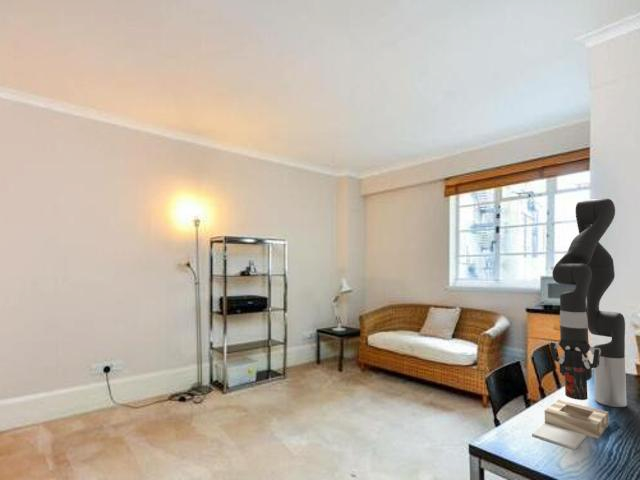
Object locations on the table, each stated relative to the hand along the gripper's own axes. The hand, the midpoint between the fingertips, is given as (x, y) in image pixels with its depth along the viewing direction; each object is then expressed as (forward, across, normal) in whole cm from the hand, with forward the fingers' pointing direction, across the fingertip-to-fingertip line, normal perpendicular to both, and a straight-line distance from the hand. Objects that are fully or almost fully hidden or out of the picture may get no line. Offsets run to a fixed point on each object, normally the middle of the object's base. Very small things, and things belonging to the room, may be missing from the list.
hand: (575, 377), depth 121 cm
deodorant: (+6, 0, 0) cm, 6 cm away
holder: (+15, 0, 0) cm, 15 cm away
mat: (+14, +1, +14) cm, 20 cm away
